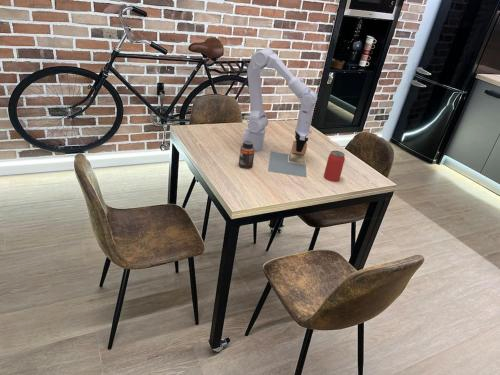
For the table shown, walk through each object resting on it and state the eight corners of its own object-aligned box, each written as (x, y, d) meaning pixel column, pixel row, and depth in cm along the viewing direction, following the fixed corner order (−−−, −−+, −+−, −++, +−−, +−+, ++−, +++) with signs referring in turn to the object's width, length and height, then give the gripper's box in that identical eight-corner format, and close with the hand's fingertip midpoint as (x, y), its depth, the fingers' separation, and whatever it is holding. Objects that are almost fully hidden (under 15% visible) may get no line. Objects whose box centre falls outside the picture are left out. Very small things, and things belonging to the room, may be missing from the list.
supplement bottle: (254, 166, 159) (257, 141, 153) (249, 171, 154) (253, 146, 148) (241, 162, 160) (244, 138, 155) (236, 168, 155) (239, 142, 150)
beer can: (329, 184, 153) (336, 157, 147) (320, 176, 158) (326, 150, 152) (342, 182, 156) (349, 156, 150) (332, 175, 161) (339, 149, 155)
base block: (289, 161, 166) (291, 155, 164) (290, 155, 171) (291, 149, 169) (303, 163, 165) (304, 157, 164) (303, 158, 171) (304, 151, 169)
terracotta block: (291, 152, 165) (293, 144, 163) (291, 148, 168) (293, 140, 166) (305, 154, 164) (307, 146, 162) (305, 150, 168) (306, 142, 166)
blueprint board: (267, 172, 155) (267, 170, 154) (270, 152, 173) (270, 150, 173) (306, 178, 154) (306, 176, 154) (304, 158, 173) (305, 156, 172)
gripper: (314, 127, 153) (308, 157, 159) (313, 116, 165) (307, 144, 172) (297, 124, 153) (291, 155, 159) (297, 113, 166) (291, 142, 172)
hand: (298, 149), depth 166 cm, fingers closed on terracotta block, 4 cm apart
